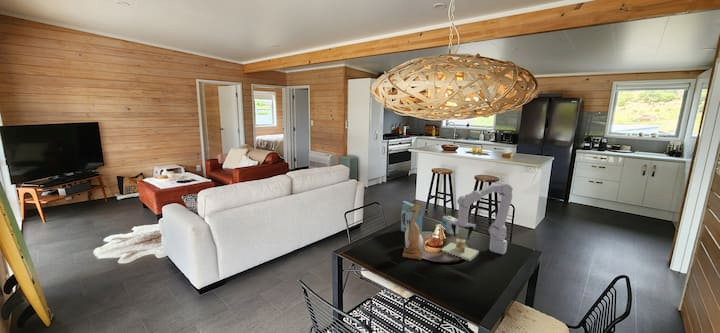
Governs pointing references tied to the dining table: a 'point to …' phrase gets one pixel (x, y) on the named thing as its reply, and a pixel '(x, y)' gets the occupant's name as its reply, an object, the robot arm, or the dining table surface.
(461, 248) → the maple block
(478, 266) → the dining table surface
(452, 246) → the green tile
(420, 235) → the figurine
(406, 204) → the gum box
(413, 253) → the bird sculpture
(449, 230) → the light bulb box
